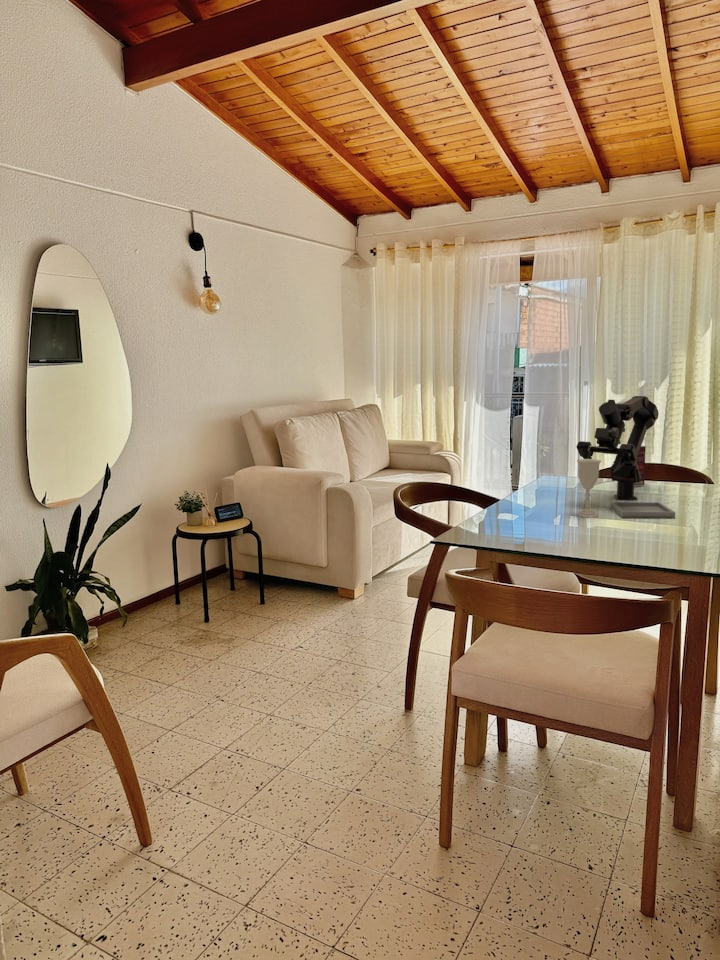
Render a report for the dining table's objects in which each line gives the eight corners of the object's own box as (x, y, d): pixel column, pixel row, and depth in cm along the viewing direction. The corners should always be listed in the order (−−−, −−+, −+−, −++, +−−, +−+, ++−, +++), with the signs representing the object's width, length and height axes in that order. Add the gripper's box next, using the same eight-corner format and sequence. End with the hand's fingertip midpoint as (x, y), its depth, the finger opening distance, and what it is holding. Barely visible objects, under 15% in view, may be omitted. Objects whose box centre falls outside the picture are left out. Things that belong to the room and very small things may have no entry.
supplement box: (637, 484, 269) (639, 444, 266) (644, 486, 264) (646, 446, 261) (617, 485, 268) (619, 445, 265) (623, 487, 263) (625, 447, 260)
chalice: (599, 513, 221) (601, 459, 218) (599, 518, 215) (601, 462, 212) (575, 512, 224) (577, 458, 220) (574, 517, 217) (576, 461, 214)
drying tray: (610, 507, 229) (610, 502, 229) (659, 508, 227) (660, 502, 227) (621, 518, 215) (622, 512, 214) (675, 518, 213) (675, 512, 212)
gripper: (579, 417, 230) (564, 453, 223) (635, 419, 218) (622, 458, 211) (587, 438, 237) (573, 474, 231) (642, 441, 225) (629, 479, 219)
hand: (598, 471), depth 223 cm, fingers open, 9 cm apart
